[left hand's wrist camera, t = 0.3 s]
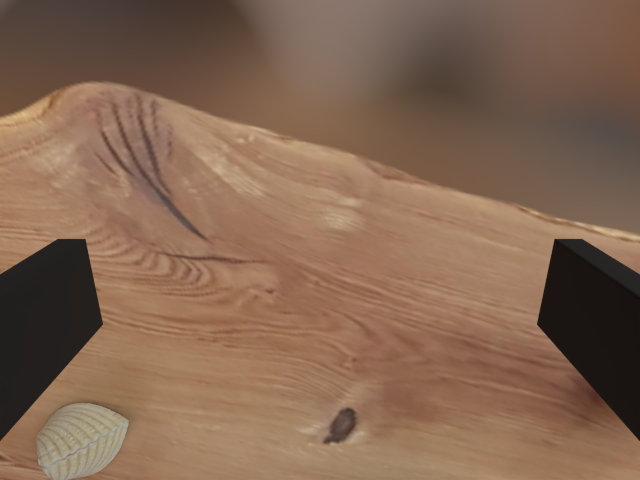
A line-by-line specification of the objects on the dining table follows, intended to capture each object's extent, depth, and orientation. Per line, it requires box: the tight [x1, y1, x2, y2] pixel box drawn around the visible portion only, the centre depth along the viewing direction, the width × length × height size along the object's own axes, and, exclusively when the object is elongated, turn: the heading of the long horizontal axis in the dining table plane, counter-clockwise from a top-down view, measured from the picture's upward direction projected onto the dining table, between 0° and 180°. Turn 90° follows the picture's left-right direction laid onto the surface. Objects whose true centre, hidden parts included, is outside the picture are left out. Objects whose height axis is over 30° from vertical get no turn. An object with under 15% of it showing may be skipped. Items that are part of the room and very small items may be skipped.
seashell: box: [36, 403, 129, 480], centre depth 47 cm, size 8×8×8 cm
